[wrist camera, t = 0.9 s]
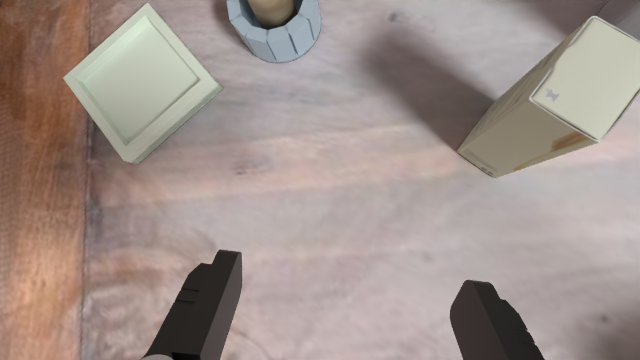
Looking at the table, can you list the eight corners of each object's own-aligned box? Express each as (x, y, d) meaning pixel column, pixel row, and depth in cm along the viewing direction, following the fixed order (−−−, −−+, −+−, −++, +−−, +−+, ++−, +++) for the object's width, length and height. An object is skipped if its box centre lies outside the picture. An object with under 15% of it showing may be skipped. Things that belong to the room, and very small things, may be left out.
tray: (159, 14, 34) (147, 2, 32) (223, 88, 32) (214, 80, 30) (79, 86, 35) (62, 78, 33) (137, 164, 32) (123, 160, 30)
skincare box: (495, 180, 28) (598, 150, 16) (454, 151, 29) (523, 102, 17) (538, 124, 28) (673, 53, 16) (496, 97, 29) (595, 10, 17)
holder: (286, -27, 33) (276, -59, 29) (337, 24, 32) (335, -3, 28) (227, 26, 33) (210, -1, 29) (276, 79, 32) (264, 59, 28)
